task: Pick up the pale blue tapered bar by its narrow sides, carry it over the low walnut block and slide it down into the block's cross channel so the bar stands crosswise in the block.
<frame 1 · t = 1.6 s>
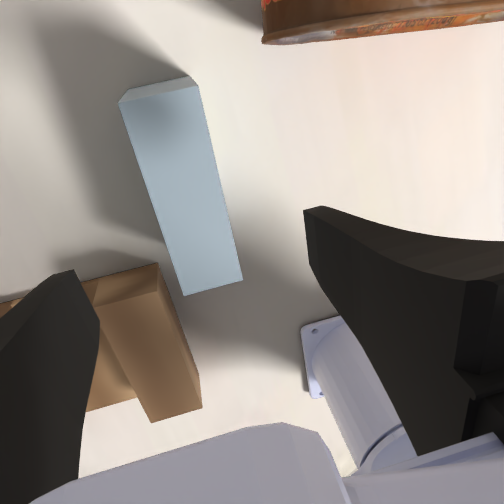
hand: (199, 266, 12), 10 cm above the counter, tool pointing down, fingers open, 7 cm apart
pale blue tapered bar: (184, 171, 20), on the counter
slot block: (90, 348, 24), on the counter
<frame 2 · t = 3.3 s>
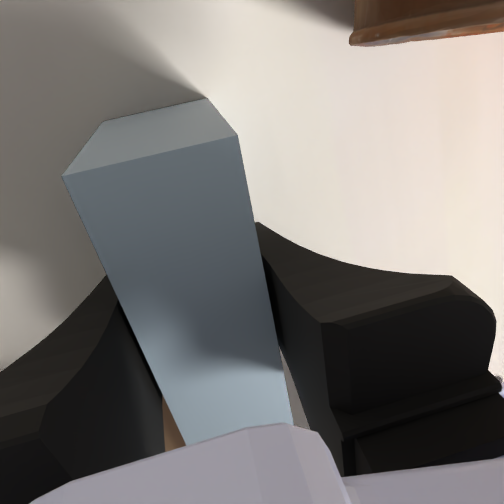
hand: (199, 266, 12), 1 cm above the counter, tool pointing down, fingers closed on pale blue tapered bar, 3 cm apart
pale blue tapered bar: (195, 244, 13), on the counter, touching gripper
slot block: (60, 478, 17), on the counter
when the fingers open (4 cm above the counter, at t = 6.7 s): pale blue tapered bar stays where it is, resting on slot block.
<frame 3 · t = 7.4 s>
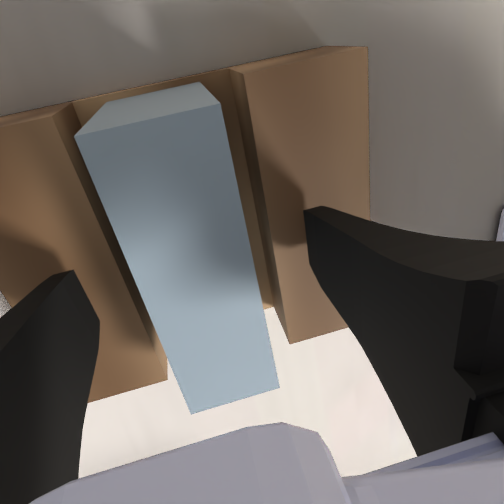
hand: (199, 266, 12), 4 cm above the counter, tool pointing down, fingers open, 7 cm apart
pale blue tapered bar: (190, 217, 14), resting on slot block
slot block: (191, 219, 15), on the counter
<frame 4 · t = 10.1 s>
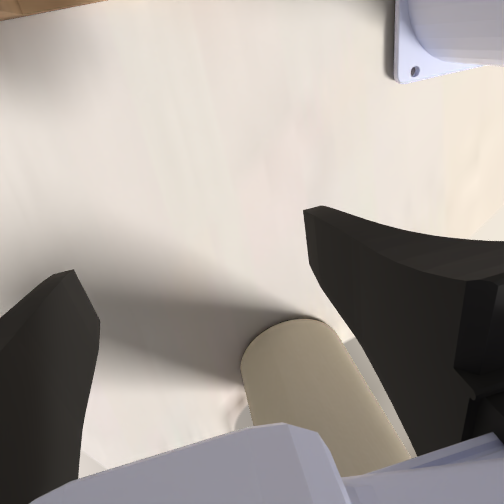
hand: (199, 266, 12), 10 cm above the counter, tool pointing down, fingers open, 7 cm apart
travel mug: (289, 354, 29), on the counter
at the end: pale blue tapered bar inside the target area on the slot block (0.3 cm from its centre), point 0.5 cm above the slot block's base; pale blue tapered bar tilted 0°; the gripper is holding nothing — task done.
